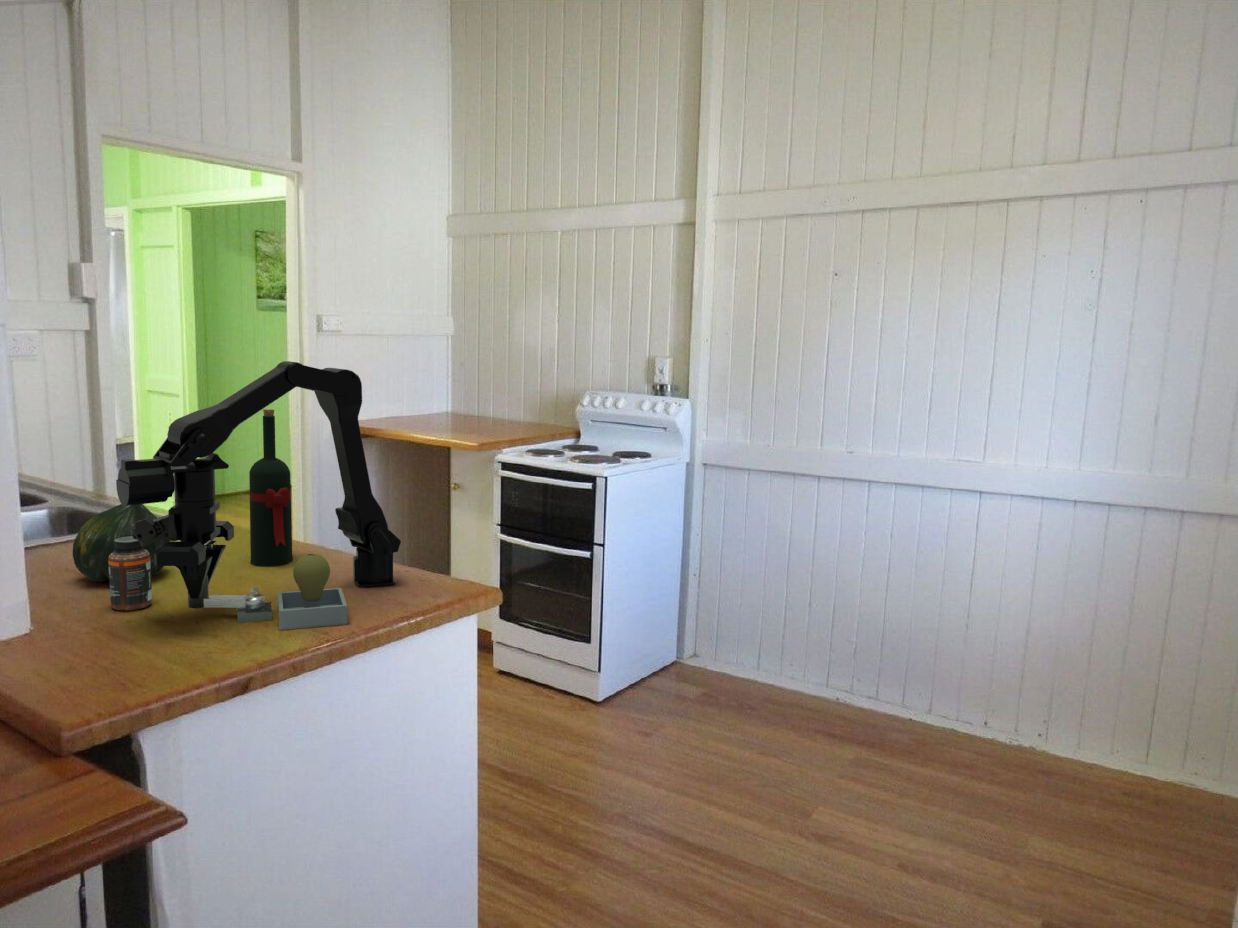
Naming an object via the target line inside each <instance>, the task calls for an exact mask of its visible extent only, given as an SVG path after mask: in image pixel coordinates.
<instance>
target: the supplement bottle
mask: <svg viewBox="0 0 1238 928" xmlns="http://www.w3.org/2000/svg"><path fill="white" fill-rule="evenodd" d="M114 544H115V545H114V548H115V550H114V551H113V552H112V553H111V554H110V555H109V559H108V562H109V580H108V581H109V596H110V598H109V600H110V608H112V609H114V611H115V610H116V611H126V612H127V611H128V612H129V611H135V610H142V609H143V608H148V607H149V606H150V605H151V604H152V601H153V593H152V592H153V591H152V589H153V588H152V587H153V586H152V576H151V565H150V554H149V552H148V551H147V550H145V549H144V548H143V547H142V546H141V544H140V541H138V540H135V539H134V538H133V536H129V537H121V538H117V539H115V540H114Z"/></svg>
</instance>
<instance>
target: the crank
mask: <svg viewBox="0 0 1238 928" xmlns="http://www.w3.org/2000/svg"><path fill="white" fill-rule="evenodd" d="M265 598H266V597H265V595H264V594H259V593H258V594H253V595H251V594H237V595H236V594H223V595H222V594H212V595H211V594H209V585H208V574H207V575H206V578H205V581H204V584H203V587H202V590H201V593H200V595H199V598H197V599H191V598H190V595H189V592H188V591H187V607H188V608H189V609H203V608H204V609H205V608H218V609H219V608H224V609H225V608H230V609H231V608H237V609H238V607H246V608H260V607H263V606H264V605H265V602H266V600H265Z"/></svg>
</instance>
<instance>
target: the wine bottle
mask: <svg viewBox="0 0 1238 928" xmlns="http://www.w3.org/2000/svg"><path fill="white" fill-rule="evenodd" d="M262 411H263V415H262V438H263V439H262V442H263V444H262V445H263V446H262V447H263V448H262V449H263V450H262V451H263V457H262V458H260V459H259V460H257V461H256V462H254V463H253V464H252V466H251V468H250V470H249V472H248V474H249V477H248V478H249V479H248V480H249V529H250V530H249V534H250V541H249V542H250V543H249V544H250V545H249V546H250V565H252V566H255V567H263V568H270V567H280V566H285V565H289V564H290V563H292V562H293V527H292V526H293V525H292V523H293V522H292V488H291V487H292V486H291V470H290V468H289V466H288V465H287V464H286V462H284V461H283V460H281V459H280V458H277V457H276V455H277V453H276V419H275V417H276V416H275V409H273V408H270V409H267V408H263V409H262Z"/></svg>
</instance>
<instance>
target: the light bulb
mask: <svg viewBox="0 0 1238 928" xmlns="http://www.w3.org/2000/svg"><path fill="white" fill-rule="evenodd" d="M292 570H293V571H292V574H293V579H294V582H295V583H296V585H297V588H298V589H299V591H301V595H302V598H303V600H304V608H311V607H320V599H321V597H322V593H323V589H325V587H326V585H327V583H328V581H329V578H330V575H331V568H330V565H329V563H328V560H327V559H326V558H325V557H323V556H322V555H320V554H318V553H307V554H304V555H303V556H301V557H300V558H298V560H297V561H296V562H295V564H294V566H293V569H292Z"/></svg>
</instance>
